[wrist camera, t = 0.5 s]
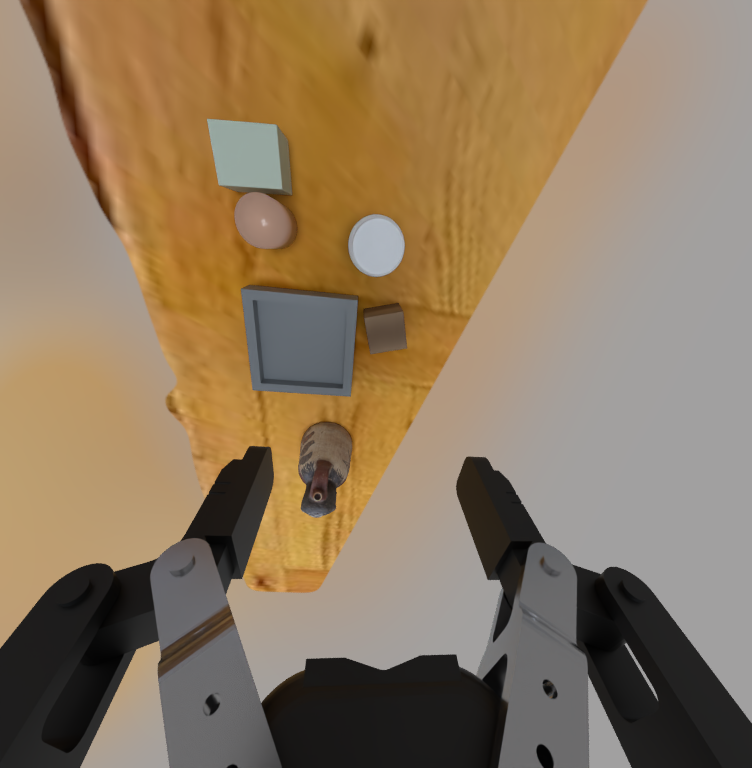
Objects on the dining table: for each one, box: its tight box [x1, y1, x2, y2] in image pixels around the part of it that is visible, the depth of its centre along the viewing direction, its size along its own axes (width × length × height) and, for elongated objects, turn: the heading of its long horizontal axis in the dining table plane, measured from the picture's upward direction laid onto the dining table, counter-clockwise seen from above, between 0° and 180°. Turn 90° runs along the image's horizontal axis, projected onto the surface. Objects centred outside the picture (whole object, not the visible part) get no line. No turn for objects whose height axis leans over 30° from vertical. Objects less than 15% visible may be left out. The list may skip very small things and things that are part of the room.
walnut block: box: [364, 303, 407, 354], centre depth 31 cm, size 4×4×4 cm
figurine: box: [298, 422, 352, 517], centre depth 35 cm, size 7×7×12 cm
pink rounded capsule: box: [235, 192, 297, 249], centre depth 25 cm, size 4×4×5 cm
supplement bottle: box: [348, 214, 405, 277], centre depth 25 cm, size 5×5×8 cm
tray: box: [241, 285, 358, 396], centre depth 32 cm, size 12×12×2 cm
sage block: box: [207, 119, 292, 195], centre depth 23 cm, size 4×5×4 cm
